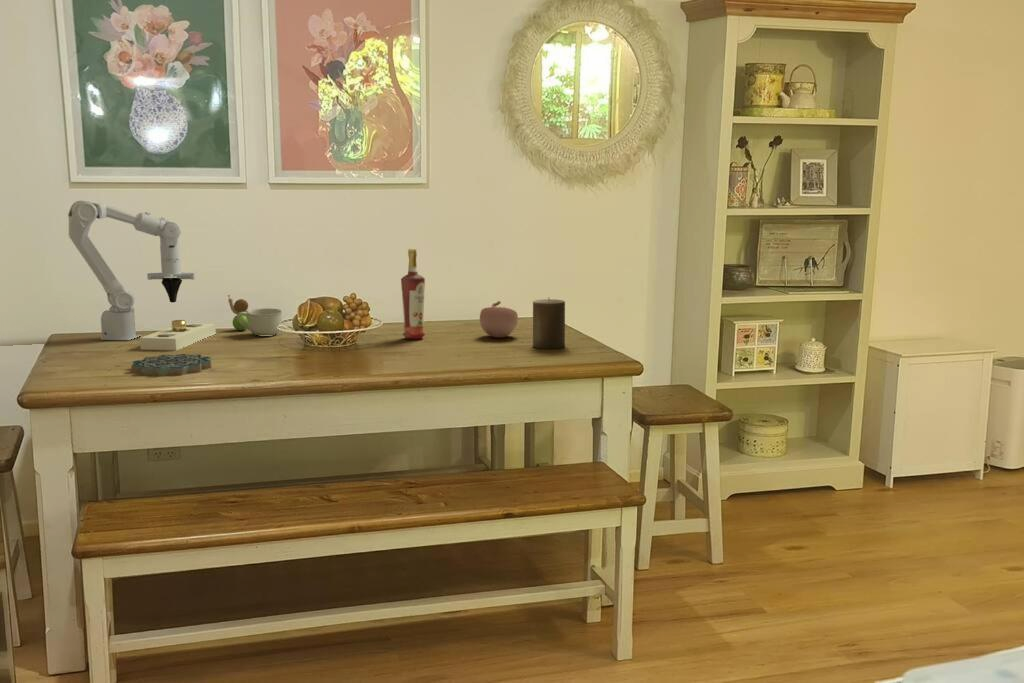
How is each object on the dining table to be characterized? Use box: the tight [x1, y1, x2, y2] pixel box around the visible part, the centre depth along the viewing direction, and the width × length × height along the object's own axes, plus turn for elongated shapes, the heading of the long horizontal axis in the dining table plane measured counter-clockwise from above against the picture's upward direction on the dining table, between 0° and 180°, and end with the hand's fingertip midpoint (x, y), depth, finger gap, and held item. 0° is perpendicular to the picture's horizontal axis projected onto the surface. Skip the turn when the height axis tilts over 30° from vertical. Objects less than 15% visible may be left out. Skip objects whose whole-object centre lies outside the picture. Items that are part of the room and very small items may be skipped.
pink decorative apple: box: [479, 300, 519, 339], centre depth 302 cm, size 12×12×12 cm
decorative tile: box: [131, 353, 212, 377], centre depth 257 cm, size 20×20×2 cm
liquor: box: [400, 248, 426, 341], centre depth 298 cm, size 7×7×28 cm
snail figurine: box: [227, 294, 249, 331], centre depth 314 cm, size 5×6×12 cm
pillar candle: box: [532, 296, 566, 350], centre depth 287 cm, size 10×10×15 cm
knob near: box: [158, 334, 172, 337], centre depth 286 cm, size 4×4×3 cm
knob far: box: [186, 323, 199, 327], centre depth 303 cm, size 4×4×3 cm
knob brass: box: [171, 319, 187, 332], centre depth 294 cm, size 4×4×3 cm
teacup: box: [237, 307, 283, 336], centre depth 306 cm, size 14×11×8 cm
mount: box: [139, 322, 217, 351], centre depth 295 cm, size 11×27×4 cm, turn 173°
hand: (173, 302), depth 307 cm, fingers closed
